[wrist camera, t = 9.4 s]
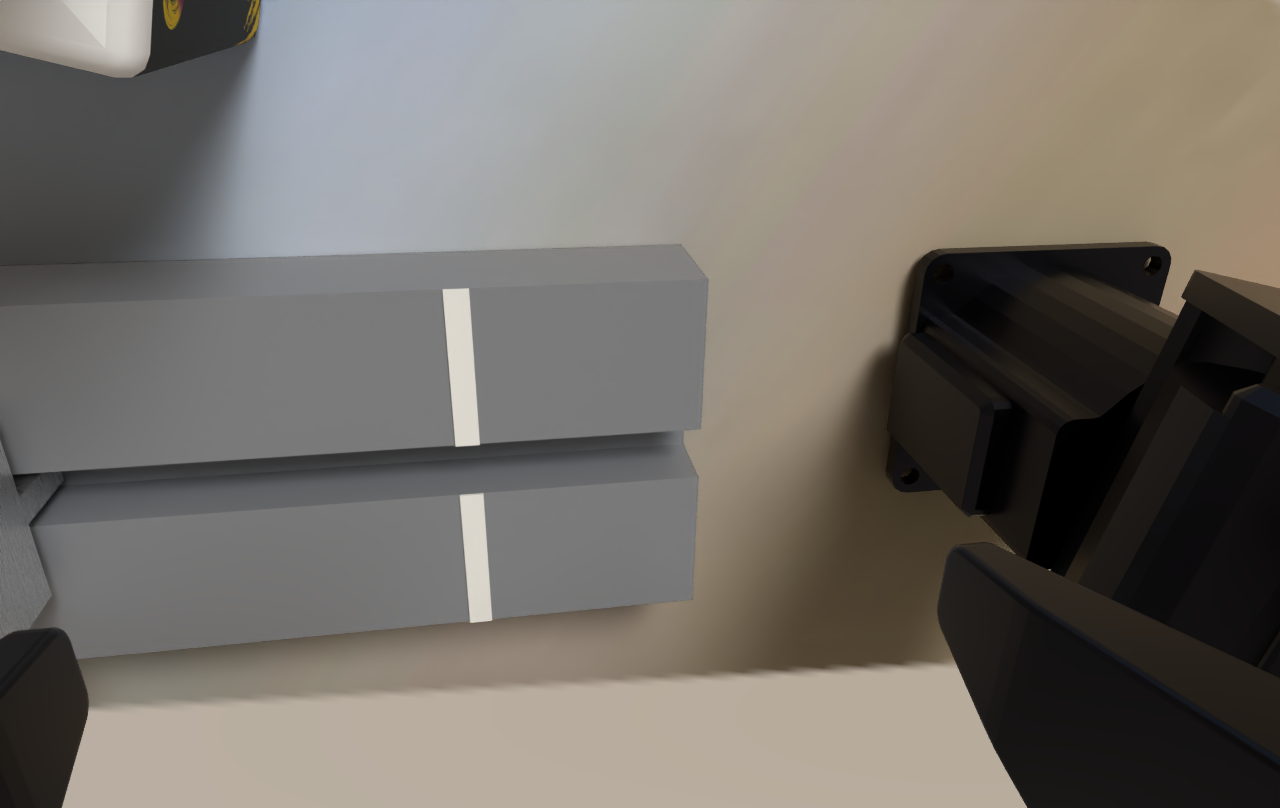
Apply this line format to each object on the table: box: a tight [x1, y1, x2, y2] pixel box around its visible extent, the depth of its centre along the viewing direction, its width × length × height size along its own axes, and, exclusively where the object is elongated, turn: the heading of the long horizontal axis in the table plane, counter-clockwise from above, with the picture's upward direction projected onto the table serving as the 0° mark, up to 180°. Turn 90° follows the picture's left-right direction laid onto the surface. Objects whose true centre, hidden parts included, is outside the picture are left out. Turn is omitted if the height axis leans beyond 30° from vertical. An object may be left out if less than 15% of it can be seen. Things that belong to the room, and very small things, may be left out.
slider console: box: [0, 244, 708, 659], centre depth 19 cm, size 20×8×3 cm, turn 89°
